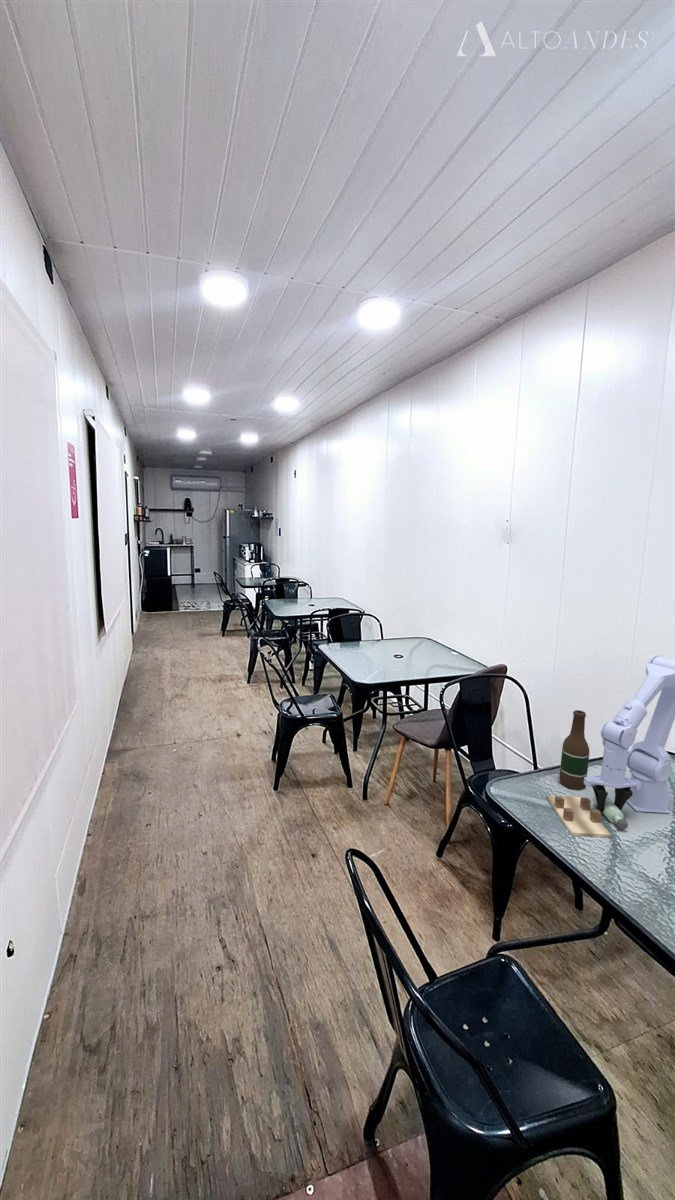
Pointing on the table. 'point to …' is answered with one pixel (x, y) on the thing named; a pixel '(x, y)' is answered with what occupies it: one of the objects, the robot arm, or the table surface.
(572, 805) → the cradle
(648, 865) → the table surface
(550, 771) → the table surface
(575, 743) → the beer bottle
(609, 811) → the bottle
